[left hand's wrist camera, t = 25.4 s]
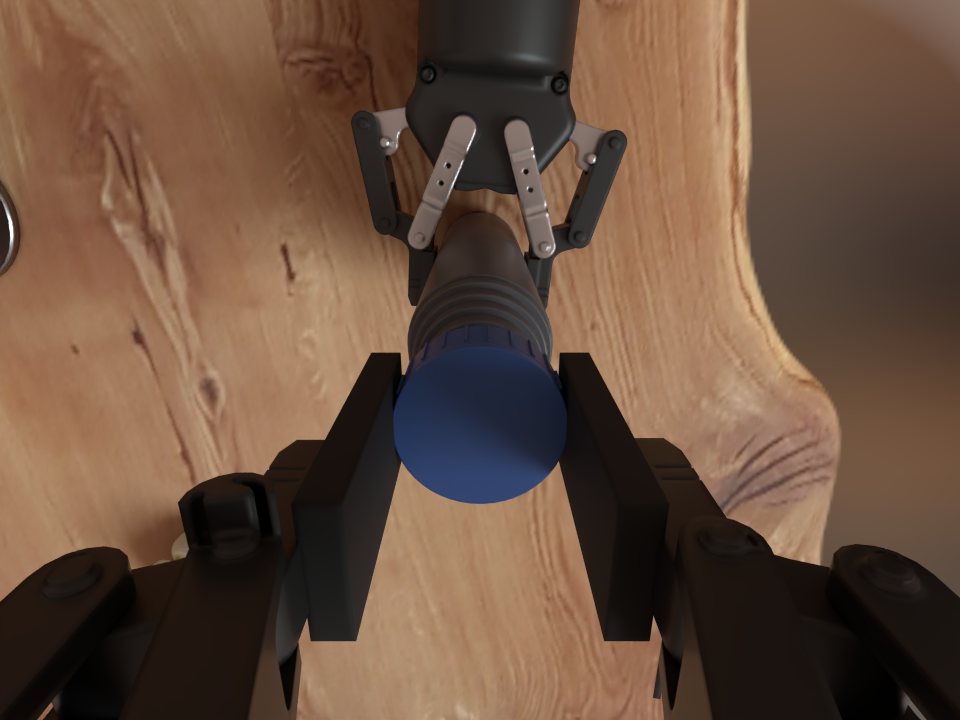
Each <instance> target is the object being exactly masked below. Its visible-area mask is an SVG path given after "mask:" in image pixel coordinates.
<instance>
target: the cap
mask: <svg viewBox="0 0 960 720" xmlns="http://www.w3.org/2000/svg"><path fill="white" fill-rule="evenodd" d="M561 391H563V388H562V385H561V382H560V379H559V376H558V373H557V371H554V370H553V368H552V366H551V364H550V363H549V360H548V357H547V355H546V353H545V354H543V353H542V352H541V351H540V350H539V349H538V348H537V347H536V346H534V345H533V343H532V340H530V339H529V340H526V339H525V338H523V337H521V336H520V335H517V334H515V333H513V330H511V329H509V331H508V330H504V329H501V328H496V327H491V325H487V326H472V327H468V325H465V327H464V328H460V329H456V330H453V331H450V332H447V331H445V332H443V335H441V336H439V337H437V338H435V339H434V340H432V341H431V342H430V343H428V342H426V343H425V345H424V348H422V349H421V350H420V351H419V353H418V354H417V355H416V356H415V357H412V358H411V359H410V362H409V365H408V368H407V371H406V373H405V375H402V377H401V380H400V382H399V385H398V388H397V391H396V394H395V395H397V399H396V402H395V406H394V409H393V423H394V439H395V447H396V450H397V453H398V455H399V457H400V459H401V461H402V462H403V464H404V465H405V467H406V468H407V470H408V471H409V472H410V473H411V474H412V475H413V477H414V478H415V479H417V480H418V481H419V482H420V483H421V484H422V485H424V486H425V487H427V488H428V489H430V490H431V491H433V492H435V493H437V494H439V495H441V496H443V497H446V498H448V499H451V500H455V501H459V502H465V503H473V504H486V503H496V502H501V501H505V500H509V499H512V498H515V497H517V496H519V495H522V494H524V493H526V492H527V491H529V490H531V489H532V488H534V487H535V486H537V485H538V484H539V483H541V482H542V481H543V480H544V479H545V478H546V477H547V476H548V475H549V474H550V473H551V471H552V470H553V469H554V467H555V466H556V465H557V463H558V461H559V459H560V458H561V456H562V453H563V451H564V448H565V444H566V429H567V408H566V404H565V401H564V398H563V395H562V392H561Z"/></svg>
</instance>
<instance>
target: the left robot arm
mask: <svg viewBox="0 0 960 720" xmlns="http://www.w3.org/2000/svg"><path fill="white" fill-rule="evenodd" d="M401 377H402V370H401V353H371V355H370V356H369V358H368V360H367V362H366V364H365V366H364V368H363V370H362V371H361V373H360V375H359V377H358V379H357V381H356V383H355V385H354V386H353V388H352V390H351V392H350V394H349V396H348V398H347V400H346V401H345V403H344V405H343V407H342V409H341V411H340V413H339V415H338V416H337V418H336V420H335V422H334V424H333V426H332V428H331V430H330V431H329V433H328V435H327V437H326V439H325V440H296V441H295V442H293V443H292V444H290V445H289V446H288V447H286V448H285V449H283V450H282V451H280V452H279V453H278V455H277V456H276V458H275V459H274V461H273V462H272V464H271V465H270V467H269V470H267V471H266V473H265V474H264V475H260V474H256V473H232V474H227V475H222V476H217V477H215V478H212V479H210V480H207V481H205V482H202V483H200V484H198V485H197V486H195V487H194V488H192V489H191V490H189V491H188V492H186V494H185V495H184V496H183V497H182V498H181V500H180V501H179V502H178V505H179V509H180V514H181V518H182V522H183V526H184V531H185V535H186V539H187V544H188V548H189V550H188V552H187V555H186V557H184V558H181V559H177V560H174V561H170V562H166V563H161V564H156V565H152V566H147V567H142V568H137V569H133V570H131V567H130V563H129V560H128V556H127V555H126V554H125V553H123V552H122V551H121V550H120V549H116V548H111V547H95V548H86V549H82V550H78V551H76V552H71V553H68V554H65V555H63V556H61V557H59V558H57V559H55V560H53V561H51V562H49V563H47V564H45V565H43V566H42V567H41V568H39V569H38V570H37V571H35V572H34V573H32V574H31V575H30V576H28V577H27V578H26V579H25V580H24V581H23V582H21V583H20V584H19V585H18V586H17V587H16V588H15V589H14V590H13V591H12V592H10V593H9V594H8V595H7V596H6V597H5V598H4V599H3V600H2V601H1V602H0V720H37V719H38V718H39V717H40V715H41V714H42V713H43V712H44V710H45V709H46V708H47V707H48V705H49V704H50V703H51V702H52V704H53V708H52V709H51V710H50V712H49V713H48V714H47V715H46V717H45V718H44V719H43V720H296V713H297V703H298V694H299V684H300V674H301V664H302V663H301V656H300V650H299V643H298V641H299V638H300V635H301V633H302V630H303V627H304V625H305V622H306V619H308V625H309V632H310V639H311V641H356V640H357V636H358V632H359V628H360V624H361V620H362V616H363V612H364V608H365V604H366V600H367V596H368V592H369V588H370V584H371V580H372V576H373V572H374V568H375V564H376V560H377V556H378V552H379V548H380V544H381V540H382V536H383V532H384V528H385V524H386V520H387V516H388V512H389V509H390V505H391V501H392V497H393V493H394V489H395V485H396V481H397V477H398V473H399V469H400V465H401V459H400V457H399V455H398V453H397V450H396V447H395V439H394V423H393V409H394V406H395V402H396V399H397V395H395V394H396V391H397V388H398V385H399V382H400V380H401ZM559 379H560V382H561V385H562V388H563V391H561V392H562V395H563V398H564V401H565V404H566V408H567V429H566V444H565V448H564V451H563V453H562V456H561V458H560V459H559V463H560V467H561V471H562V475H563V479H564V483H565V487H566V491H567V495H568V499H569V503H570V507H571V511H572V515H573V519H574V523H575V527H576V531H577V535H578V539H579V543H580V547H581V551H582V555H583V559H584V563H585V567H586V571H587V575H588V579H589V583H590V587H591V591H592V594H593V598H594V602H595V606H596V610H597V614H598V618H599V622H600V626H601V630H602V634H603V638H604V641H650V635H651V628H652V621H653V615H654V618H655V621H656V623H657V626H658V629H659V632H660V634H661V637H662V643H661V650H660V656H659V662H658V669H657V675H656V682H655V688H654V695H653V698H657V699H660V698H661V692H662V702H663V712H664V720H920V719H919V718H918V717H917V715H916V714H915V713H914V712H913V711H912V709H911V708H910V707H909V705H908V703H909V700H911V701H912V702H913V703H914V705H915V706H916V707H917V708H918V710H919V711H920V712H921V713H922V714H923V716H924V717H925V718H926V719H927V720H960V598H959V597H958V596H957V595H956V594H955V593H954V592H953V591H952V590H950V589H949V588H948V587H947V586H946V585H945V584H944V583H943V582H942V581H940V580H939V579H938V578H937V577H936V576H935V575H934V574H932V573H931V572H930V571H928V570H927V569H925V568H924V567H923V566H921V565H920V564H918V563H917V562H915V561H913V560H911V559H909V558H907V557H905V556H903V555H901V554H899V553H897V552H894V551H891V550H888V549H884V548H880V547H877V546H869V545H860V544H854V545H849V546H843V547H841V548H840V549H839V550H837V551H836V552H835V553H834V554H833V558H832V562H831V565H830V568H829V567H824V566H820V565H815V564H810V563H806V562H801V561H796V560H792V559H788V558H784V557H781V556H777V555H774V554H773V551H772V549H771V547H770V546H769V545H768V543H767V542H766V540H765V539H764V538H763V537H762V536H761V535H760V534H758V533H757V532H756V531H754V530H753V529H752V528H750V527H748V526H746V525H744V524H742V523H739V522H737V521H735V520H732V519H728V518H726V516H725V515H724V513H723V512H722V510H721V509H720V507H719V506H718V504H717V503H716V501H715V500H714V498H713V497H712V495H711V494H710V492H709V491H708V489H707V488H706V486H705V485H704V483H703V482H702V480H699V476H698V474H697V473H696V471H695V470H694V468H691V464H690V462H689V461H688V459H687V458H686V456H685V455H684V453H683V452H682V451H681V450H680V449H678V448H677V447H676V446H674V445H673V444H671V443H670V442H668V441H667V440H665V439H664V438H634V436H633V434H632V433H631V431H630V429H629V427H628V425H627V423H626V421H625V420H624V418H623V416H622V414H621V412H620V410H619V408H618V406H617V405H616V403H615V401H614V399H613V397H612V395H611V393H610V391H609V390H608V388H607V386H606V384H605V382H604V380H603V378H602V376H601V375H600V373H599V371H598V369H597V367H596V365H595V363H594V361H593V360H592V358H591V356H590V354H589V353H560V358H559Z"/></svg>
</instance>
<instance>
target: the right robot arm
mask: <svg viewBox="0 0 960 720" xmlns="http://www.w3.org/2000/svg"><path fill="white" fill-rule="evenodd" d="M579 5H580V0H419V15H418V50H417V77H416V82H415V86H414V89H413V91H412V93H411V95H410V97H409V98H408V100H407V103H406V107H402V108H397V109H391V110H385V111H380V112H374V113H373V112H369V111H358V112H356V113H355V114H354V115H353V117H352V120H351V126H352V130H353V135H354V139H355V144H356V148H357V152H358V157H359V161H360V166H361V170H362V175H363V179H364V184H365V188H366V193H367V197H368V201H369V206H370V210H371V215H372V219H373V224H374V227H375V229H376V230H377V231H378V232H379V233H381V234H383V235H388V234H389V235H391V236H393V237H395V238H398V239H400V240H402V241H403V242H404V243H405V244H406V245H407V247H408V249H409V287H408V297H409V300H410V303H411V306H417V304H418V302H419V299H420V297H421V294H422V292H423V289H424V287H425V284H426V282H427V280H428V277H429V275H430V272H431V270H432V267H433V265H434V262H435V260H436V257H437V252H438V246H437V245H434V236H435V231H436V229H437V226H438V224H439V222H440V219H441V217H442V214H443V212H444V210H445V207H446V205H447V203H448V201H449V198H450V196H451V194H452V191H453V189H454V188H455V190H462V191H473V190H478V189H483V188H487V189H490V190H493V191H496V192H498V193H501V194H515V195H517V199H518V203H519V207H520V210H521V213H522V217H523V221H524V225H525V228H526V232H527V236H528V240H529V252H525V253H524V260H525V262H526V265H527V267H528V270H529V272H530V274H531V277H532V279H533V282H534V284H535V287H536V289H537V292H538V294H539V297H540V299H541V302H542V304H543V307H544V309H546V307H547V303H548V295H549V287H550V278H551V270H552V263H553V260H554V258H555V257H556V256H557V255H558V254H559V253H560V252H563V251H566V250H570V249H573V248H584V247H586V246H587V245H588V244H589V242H590V240H591V238H592V235H593V232H594V230H595V227H596V225H597V222H598V219H599V217H600V214H601V212H602V209H603V206H604V204H605V201H606V199H607V196H608V193H609V191H610V188H611V185H612V183H613V180H614V178H615V175H616V172H617V170H618V167H619V165H620V162H621V159H622V157H623V154H624V151H625V149H626V146H627V138H626V136H625V134H624V133H623V132H621V131H619V130H612V131H604V130H601V129H599V128H596V127H593V126H590V125H587V124H584V123H581V122H579V121H576V115H575V112H574V110H573V107H572V104H571V100H570V81H571V72H572V64H573V55H574V47H575V38H576V30H577V22H578V13H579ZM407 128H410V129H411V131H412V132H413V134H414V136H415V137H416V139H417V141H418V142H419V144H420V146H421V147H422V149H423V150H424V152H425V154H426V155H427V157H428V159H429V160H430V162H431V164H432V165H433V167H434V170H433V172H432V175H431V177H430V180H429V182H428V184H427V187H426V189H425V192H424V194H423V197H422V200H421V203H420V206H419V208H418V211H417V213H416V216H415V217H414V216H412V215H409V214H407V213H405V212H403V211H402V210H401V205H400V201H399V196H398V191H397V186H396V181H395V176H394V171H393V166H392V162H391V157H390V155H394V154H396V153H397V152H398V151H399V149H400V147H401V135H402V133H403V132H404V130H406V129H407ZM568 141H571V142H572V143H573V144H574V146H575V150H576V153H575V164H576V165H577V167H578V168H579V169H581V170H583V172H582V175H581V177H580V180H579V183H578V186H577V188H576V191H575V194H574V197H573V199H572V202H571V205H570V208H569V211H568V213H567V216H566V219H565V222H564V223H563V224H559V225H556V226H553V227H551V224H550V220H549V215H548V209H547V203H546V199H545V195H544V191H543V187H542V183H541V178H540V175H541V173H542V172H543V171H544V170H545V169H546V167H547V166H548V165H549V164H550V163H551V161H552V160H553V159H554V158H555V157H556V155H557V154H558V153H559V152H560V151H561V149H562V148H563V147H564V146H565V145H566V143H567V142H568ZM19 245H20V225H19V219H18V216H17V212H16V209H15V207H14V204H13V202H12V200H11V198H10V196H9V194H8V192H7V190H6V189H5V187H4V186H3V184H2V183H1V181H0V277H1V276H2V275H3V274H4V273H5V272H6V271H7V270H8V269H9V268H10V267H11V265H12V264H13V262H14V260H15V258H16V256H17V253H18V250H19Z"/></svg>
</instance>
